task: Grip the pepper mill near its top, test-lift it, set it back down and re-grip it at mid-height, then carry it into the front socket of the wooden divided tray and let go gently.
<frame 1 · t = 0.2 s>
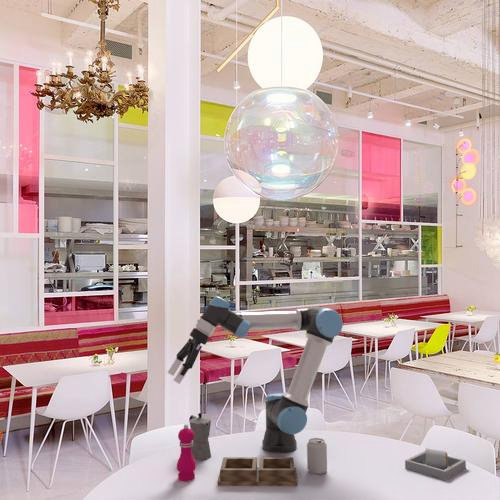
hand: (173, 378, 207), 36 cm above the table, tool tilted 35°, fingers open, 13 cm apart
wooden divided tray: (258, 478, 196), on the table
pepper mill: (186, 478, 197), on the table
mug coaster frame: (435, 468, 204), on the table
can: (317, 472, 202), on the table
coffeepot: (199, 456, 221), on the table
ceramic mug: (435, 468, 204), resting in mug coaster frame
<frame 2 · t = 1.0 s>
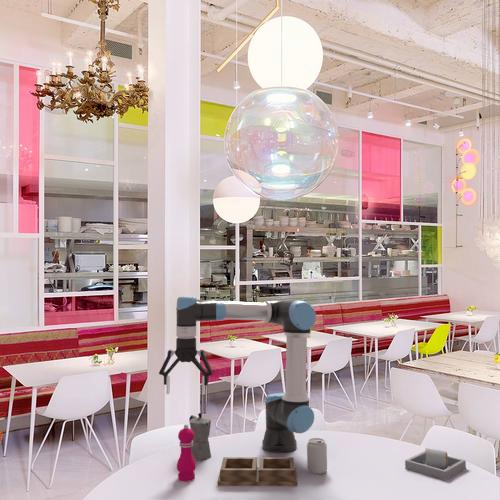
hand: (185, 393, 199), 31 cm above the table, tool pointing down, fingers open, 13 cm apart
nothing on the table moved.
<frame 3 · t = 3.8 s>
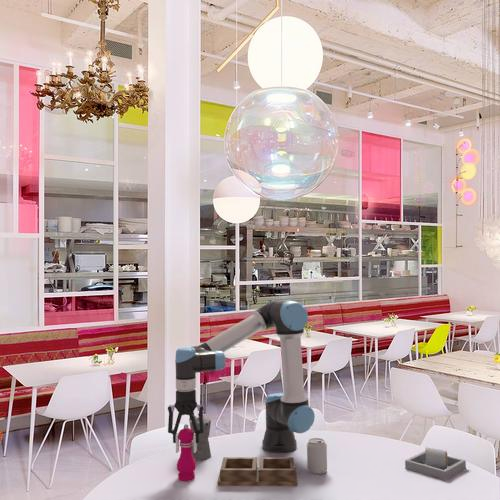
hand: (186, 451, 197), 10 cm above the table, tool pointing down, fingers closed on pepper mill, 6 cm apart
pepper mill: (186, 478, 197), on the table, touching gripper
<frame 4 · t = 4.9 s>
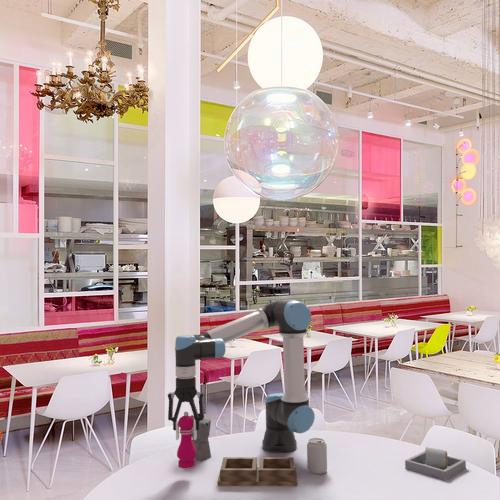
hand: (186, 438, 198), 15 cm above the table, tool pointing down, fingers closed on pepper mill, 6 cm apart
pepper mill: (186, 465, 197), point 5 cm above the table, touching gripper
when the fingers open (11 cm above the table, at t = 6.4 s): pepper mill stays where it is, on the table.
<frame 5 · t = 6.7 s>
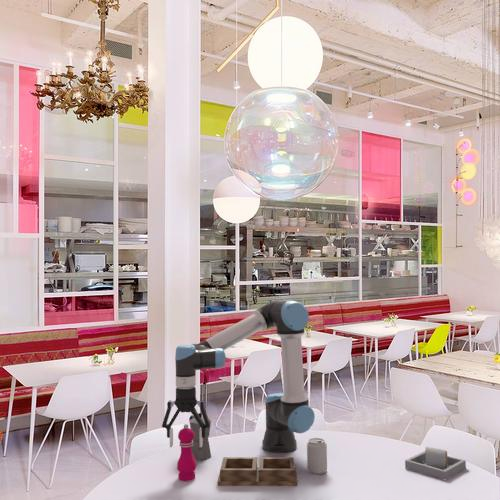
hand: (186, 446, 198), 12 cm above the table, tool pointing down, fingers open, 10 cm apart
pepper mill: (186, 478, 197), on the table
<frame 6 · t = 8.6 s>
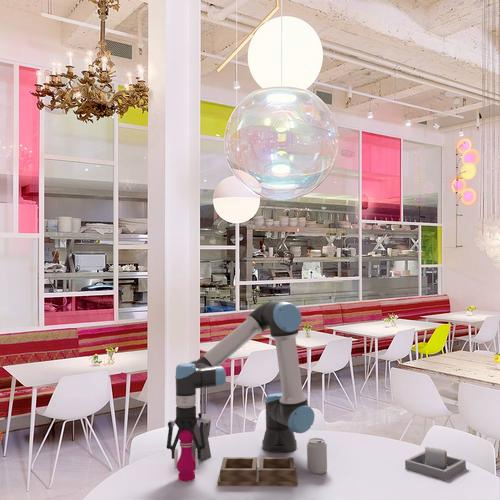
hand: (186, 467, 197), 4 cm above the table, tool pointing down, fingers closed on pepper mill, 7 cm apart
pepper mill: (186, 478, 197), on the table, touching gripper
when the fingers open (7 cm above the table, at t = 15.7 s): pepper mill drops 1 cm, resting on wooden divided tray.
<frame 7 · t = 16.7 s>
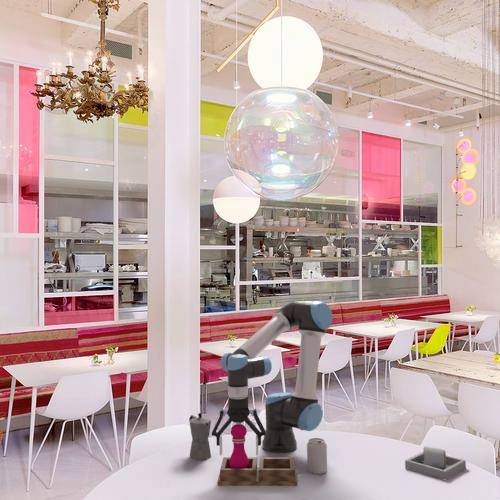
hand: (239, 454, 197), 9 cm above the table, tool pointing down, fingers open, 13 cm apart
pepper mill: (239, 474, 196), point 1 cm above the table, touching wooden divided tray
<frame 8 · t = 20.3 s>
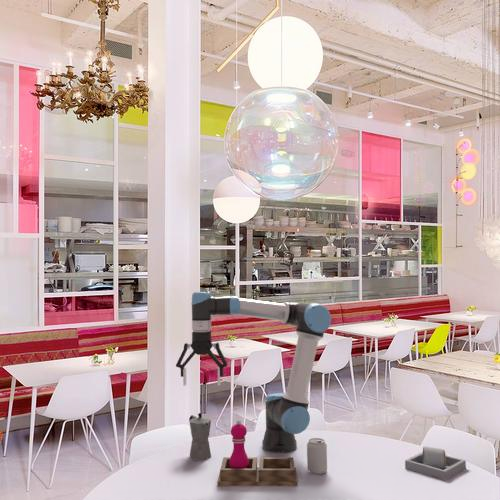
hand: (202, 385, 207), 33 cm above the table, tool pointing down, fingers open, 13 cm apart
at the end: pepper mill 0.1 cm from the target spot, point 1.3 cm above the table; pepper mill tilted 0°; the gripper is holding nothing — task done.
